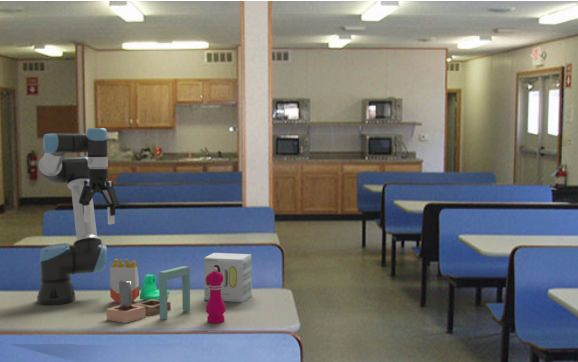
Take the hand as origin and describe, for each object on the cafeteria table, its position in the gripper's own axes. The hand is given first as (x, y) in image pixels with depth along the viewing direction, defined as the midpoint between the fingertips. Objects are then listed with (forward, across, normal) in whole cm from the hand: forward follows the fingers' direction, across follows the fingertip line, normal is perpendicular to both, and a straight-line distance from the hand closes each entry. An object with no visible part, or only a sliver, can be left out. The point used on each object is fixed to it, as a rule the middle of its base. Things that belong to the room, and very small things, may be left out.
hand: (99, 223), depth 261 cm
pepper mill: (+35, +47, +13) cm, 60 cm away
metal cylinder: (+35, +16, -2) cm, 38 cm away
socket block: (+35, +16, +12) cm, 40 cm away
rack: (+35, +16, -2) cm, 38 cm away
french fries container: (+35, -4, +16) cm, 39 cm away
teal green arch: (+35, +28, +12) cm, 46 cm away
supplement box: (+35, +28, +44) cm, 63 cm away
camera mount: (+35, +2, +27) cm, 44 cm away
